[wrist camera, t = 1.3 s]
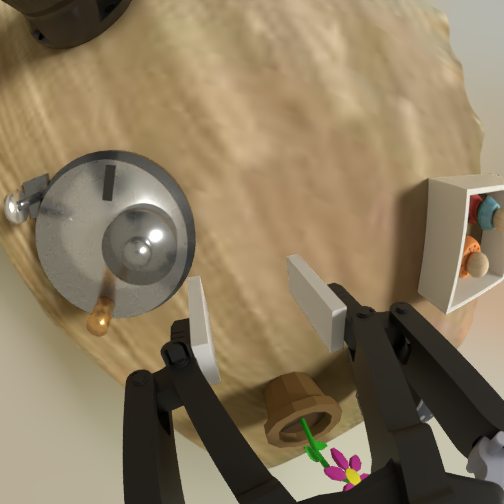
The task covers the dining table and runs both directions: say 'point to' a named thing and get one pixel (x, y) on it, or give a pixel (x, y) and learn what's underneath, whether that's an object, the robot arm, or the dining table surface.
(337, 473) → the flowerpot
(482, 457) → the robot arm
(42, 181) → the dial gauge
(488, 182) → the parts crate
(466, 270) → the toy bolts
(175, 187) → the turntable base
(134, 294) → the turntable
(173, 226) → the cover
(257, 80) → the dining table surface
